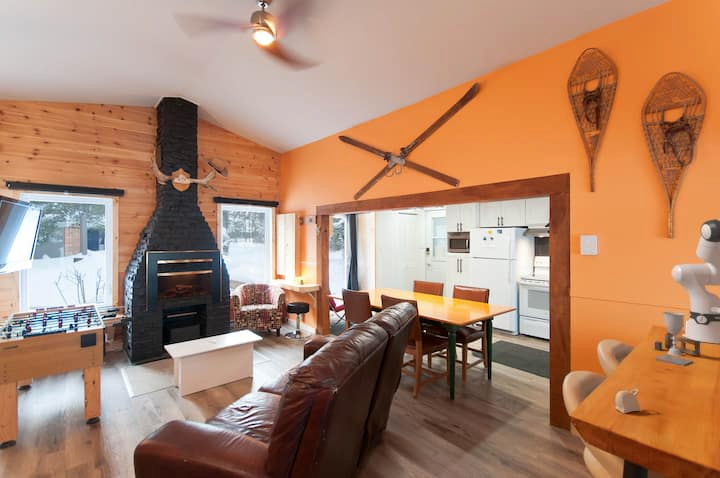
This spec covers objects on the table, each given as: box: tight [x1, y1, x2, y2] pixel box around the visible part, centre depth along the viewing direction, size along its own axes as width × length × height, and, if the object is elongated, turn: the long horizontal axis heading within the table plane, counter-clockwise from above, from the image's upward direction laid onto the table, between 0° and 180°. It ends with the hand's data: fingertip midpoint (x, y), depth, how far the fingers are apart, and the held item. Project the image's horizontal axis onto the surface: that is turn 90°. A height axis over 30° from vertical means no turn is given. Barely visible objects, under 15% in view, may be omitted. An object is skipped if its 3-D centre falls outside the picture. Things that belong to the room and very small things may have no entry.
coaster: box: [655, 354, 694, 367], centre depth 142 cm, size 9×9×1 cm
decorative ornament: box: [614, 388, 643, 415], centre depth 99 cm, size 4×8×5 cm, turn 101°
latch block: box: [654, 340, 663, 351], centre depth 158 cm, size 3×2×4 cm, turn 120°
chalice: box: [662, 311, 686, 357], centre depth 151 cm, size 7×7×18 cm
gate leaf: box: [664, 333, 701, 357], centre depth 153 cm, size 14×2×6 cm, turn 10°
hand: (715, 308), depth 140 cm, fingers open, 8 cm apart
